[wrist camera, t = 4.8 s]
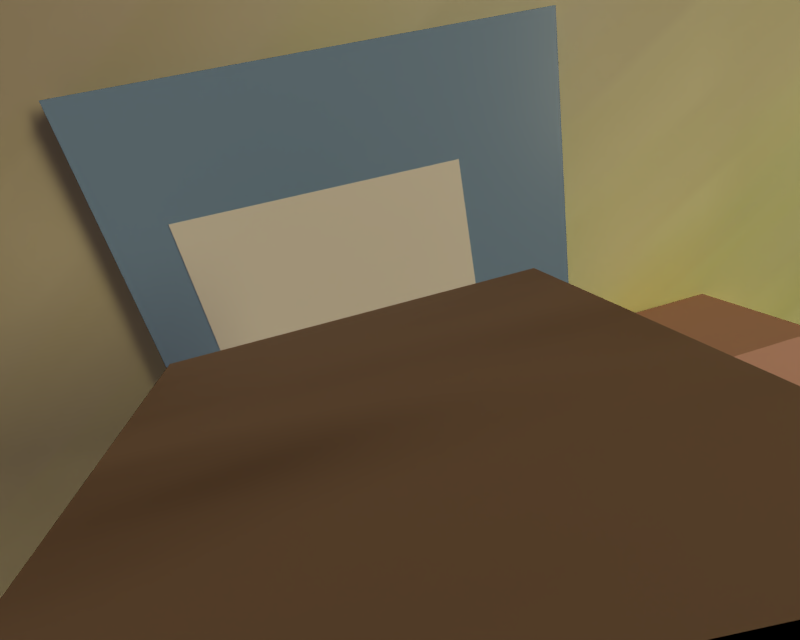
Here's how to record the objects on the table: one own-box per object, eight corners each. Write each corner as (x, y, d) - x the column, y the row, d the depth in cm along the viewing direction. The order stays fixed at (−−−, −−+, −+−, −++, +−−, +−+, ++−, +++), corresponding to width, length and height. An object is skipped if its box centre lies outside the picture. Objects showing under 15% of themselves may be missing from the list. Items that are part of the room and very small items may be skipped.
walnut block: (554, 524, 10) (857, 964, 4) (288, 614, 9) (254, 1279, 4) (534, 267, 8) (1146, 539, 2) (169, 363, 7) (-441, 1212, 1)
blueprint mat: (566, 430, 21) (576, 440, 20) (253, 530, 19) (251, 545, 18) (542, 13, 14) (556, 4, 14) (55, 105, 12) (37, 100, 12)
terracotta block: (693, 381, 22) (795, 437, 17) (608, 407, 21) (691, 473, 17) (700, 293, 20) (817, 330, 15) (607, 319, 19) (701, 366, 15)
